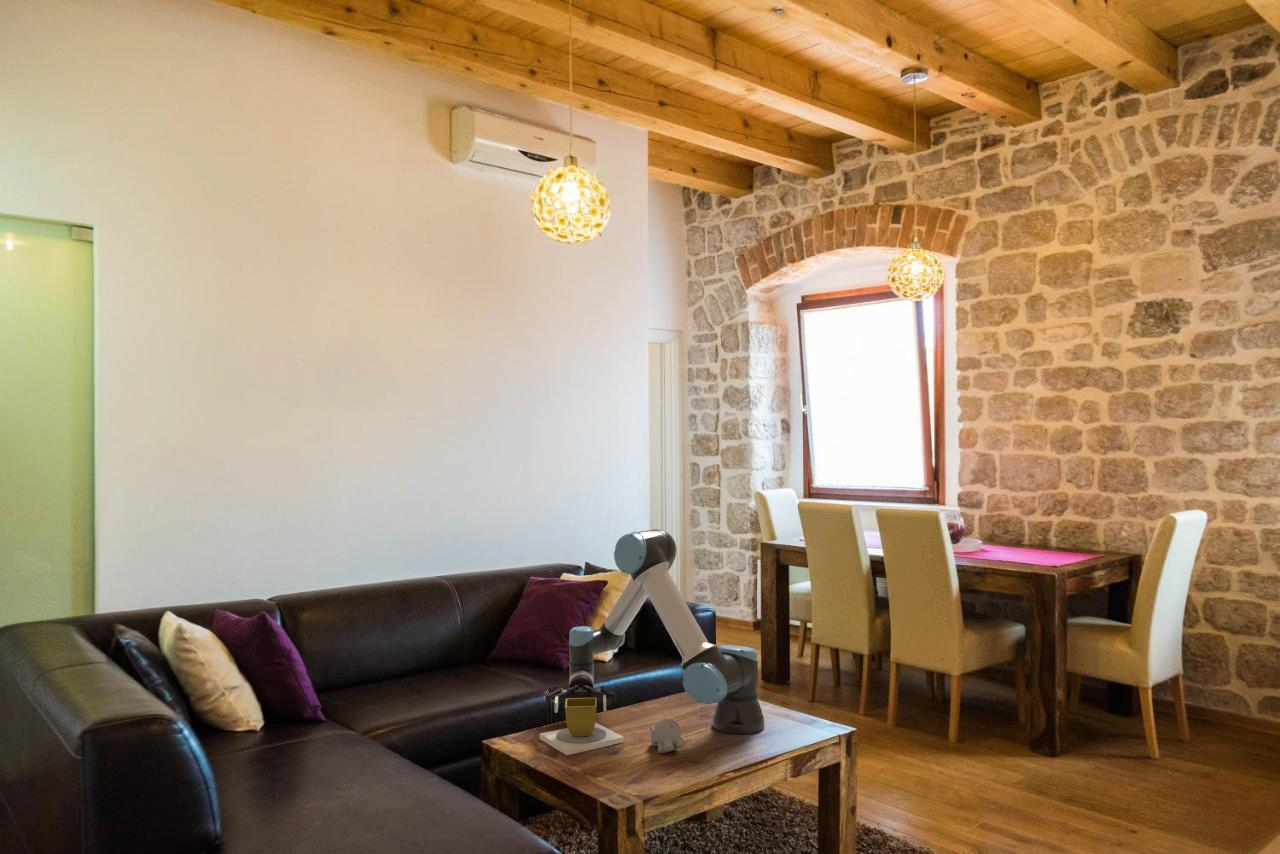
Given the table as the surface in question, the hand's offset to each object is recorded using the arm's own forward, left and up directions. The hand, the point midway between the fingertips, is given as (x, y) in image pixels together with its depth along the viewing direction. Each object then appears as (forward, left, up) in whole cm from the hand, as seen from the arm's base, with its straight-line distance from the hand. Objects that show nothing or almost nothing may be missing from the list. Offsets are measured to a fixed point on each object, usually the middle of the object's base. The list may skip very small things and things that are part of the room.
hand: (580, 707), depth 248 cm
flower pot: (+1, -1, -8) cm, 8 cm away
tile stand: (+1, -1, -10) cm, 10 cm away
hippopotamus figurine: (-19, -16, -10) cm, 26 cm away
